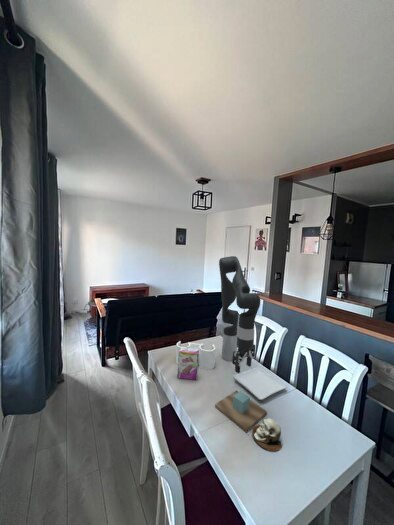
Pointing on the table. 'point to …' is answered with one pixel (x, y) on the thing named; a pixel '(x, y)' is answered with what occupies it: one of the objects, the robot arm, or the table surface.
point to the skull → (268, 435)
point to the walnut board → (240, 420)
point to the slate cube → (241, 402)
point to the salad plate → (259, 382)
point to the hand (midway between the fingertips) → (243, 369)
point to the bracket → (200, 355)
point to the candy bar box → (188, 363)
